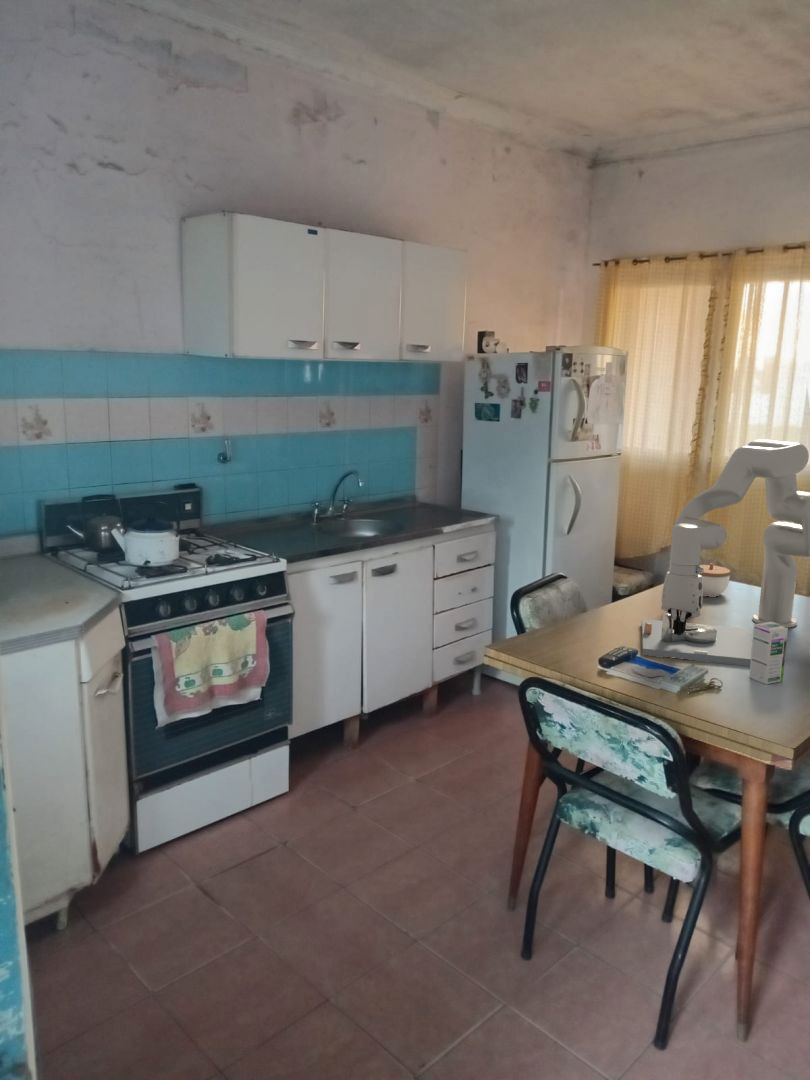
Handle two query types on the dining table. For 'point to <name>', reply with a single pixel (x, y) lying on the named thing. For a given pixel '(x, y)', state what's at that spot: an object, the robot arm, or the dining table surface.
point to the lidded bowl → (714, 580)
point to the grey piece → (687, 632)
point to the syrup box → (768, 652)
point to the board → (700, 645)
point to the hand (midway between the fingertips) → (678, 633)
